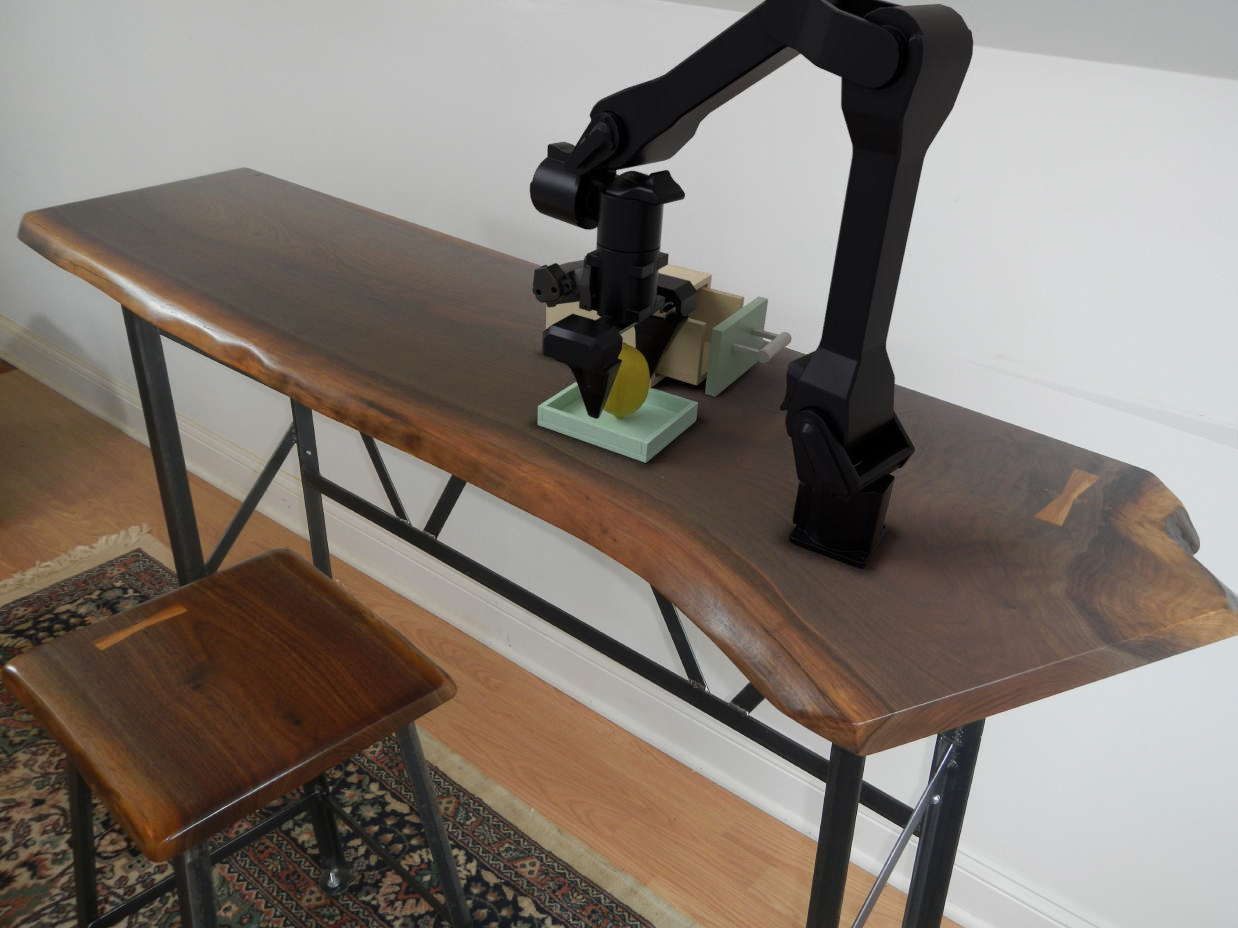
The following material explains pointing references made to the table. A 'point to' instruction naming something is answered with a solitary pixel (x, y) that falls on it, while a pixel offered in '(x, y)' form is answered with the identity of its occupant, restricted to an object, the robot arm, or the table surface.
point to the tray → (621, 422)
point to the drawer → (720, 341)
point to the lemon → (629, 383)
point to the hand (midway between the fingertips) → (619, 399)
